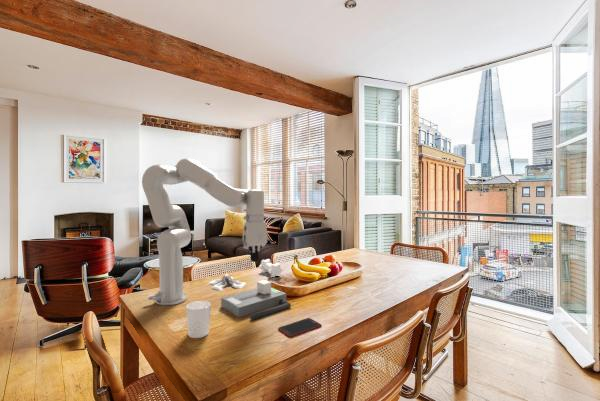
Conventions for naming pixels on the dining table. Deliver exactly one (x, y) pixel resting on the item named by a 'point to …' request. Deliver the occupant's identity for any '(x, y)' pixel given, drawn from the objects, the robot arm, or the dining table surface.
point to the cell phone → (299, 327)
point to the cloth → (226, 283)
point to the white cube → (264, 287)
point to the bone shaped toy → (270, 268)
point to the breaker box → (251, 301)
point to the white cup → (198, 318)
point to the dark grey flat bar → (271, 310)
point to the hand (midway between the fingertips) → (254, 261)
